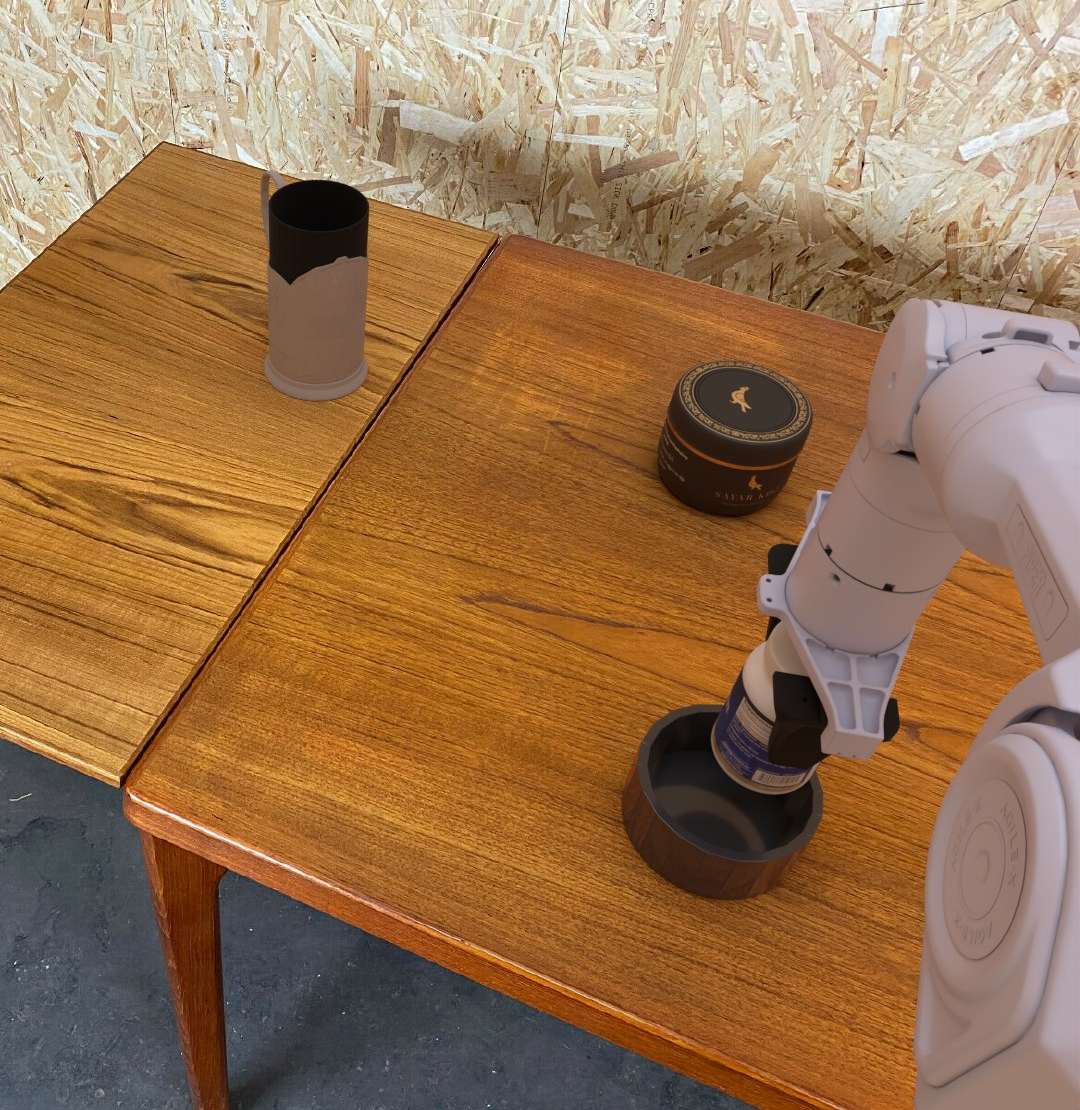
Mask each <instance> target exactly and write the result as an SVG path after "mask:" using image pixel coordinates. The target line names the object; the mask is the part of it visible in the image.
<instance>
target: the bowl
mask: <svg viewBox="0 0 1080 1110" xmlns="http://www.w3.org/2000/svg"><path fill="white" fill-rule="evenodd" d="M723 706H724V704H715V703H714V704H713V703H712V704H710V703H708V704H707V703H697V704H695V703H694V704H691V705H688V706H684V707H679V708H676V709H673V710H670V711H669V712H668V713H666V714H664V715H663V716H662V717H661V718H659V719H657V720H655V722H654V723H653V724H651V726H650V727H649V729H648V731H647V732H646V733H645V735H644V737H643V738H642V740H641V741H640V744H639V746H638V748H637V752H636V754H635V756H634V758H633V761H632V763H631V766H630V768H629V771H628V774H627V776H626V779H625V781H624V787H623V790H622V795H621V815H622V821H623V825H624V827H625V830H626V831H625V832H626V833H627V835H628V837H629V839H630V841H631V844H632V845H633V847H634V848H635V850H636V851H637V853H638V854H639V855H640V857H641V858H642V859H643V860H644V862H645V863H646V864H647V865H648V866H649V867H650V868H651V869H652V870H653V871H654V872H656V873H657V874H658V875H659V876H661V877H662V878H663V879H665V880H666V881H668V882H669V883H671V884H672V885H674V886H676V887H678V888H680V889H681V890H684V891H686V892H688V893H691V894H694V895H696V896H700V897H704V898H707V899H712V900H719V901H738V900H746V899H750V898H754V897H757V896H761V895H762V894H764V893H767V892H768V891H771V890H772V889H774V888H775V887H776V886H778V885H779V884H780V883H781V882H782V881H783V880H784V878H786V877H787V876H788V875H789V874H790V873H791V871H792V870H793V868H794V866H795V865H796V864H797V862H798V861H799V859H800V858H801V856H802V854H803V853H804V851H805V850H806V849H807V847H808V846H809V844H810V842H811V841H812V839H813V838H814V836H815V834H816V832H817V830H818V827H819V826H820V824H821V821H822V820H823V814H824V789H823V788H822V784H821V781H820V778H819V774H818V772H817V769H816V770H815V772H814V774H813V775H812V776H811V777H810V779H809V780H808V781H807V782H806V783H805V784H804V785H803V786H801V787H800V788H798V789H796V790H794V791H791V792H788V793H783V794H764V793H760V792H756V791H753V790H750V789H748V788H746V787H744V786H742V785H740V784H739V783H737V782H736V781H734V780H733V779H732V778H731V777H730V776H728V775H727V774H726V772H725V771H724V770H723V769H722V768H721V766H720V765H719V763H718V761H717V760H716V757H715V755H714V752H713V749H712V744H711V734H712V729H713V726H714V724H715V722H716V720H717V718H718V716H719V714H720V712H721V710H722V708H723Z"/></svg>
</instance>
